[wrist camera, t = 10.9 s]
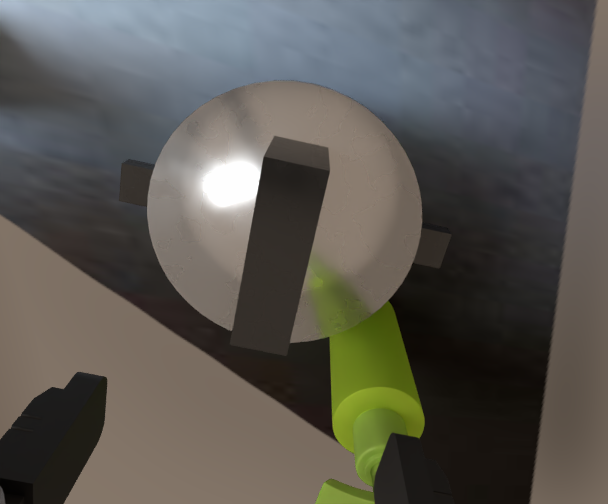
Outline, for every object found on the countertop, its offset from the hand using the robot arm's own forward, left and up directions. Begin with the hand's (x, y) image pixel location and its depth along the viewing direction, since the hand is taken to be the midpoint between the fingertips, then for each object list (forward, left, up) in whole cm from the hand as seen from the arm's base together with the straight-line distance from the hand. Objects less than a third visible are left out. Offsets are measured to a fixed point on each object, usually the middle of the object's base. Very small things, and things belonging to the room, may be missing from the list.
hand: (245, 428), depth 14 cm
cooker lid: (0, 0, -17) cm, 17 cm away
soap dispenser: (+11, +8, -27) cm, 31 cm away
